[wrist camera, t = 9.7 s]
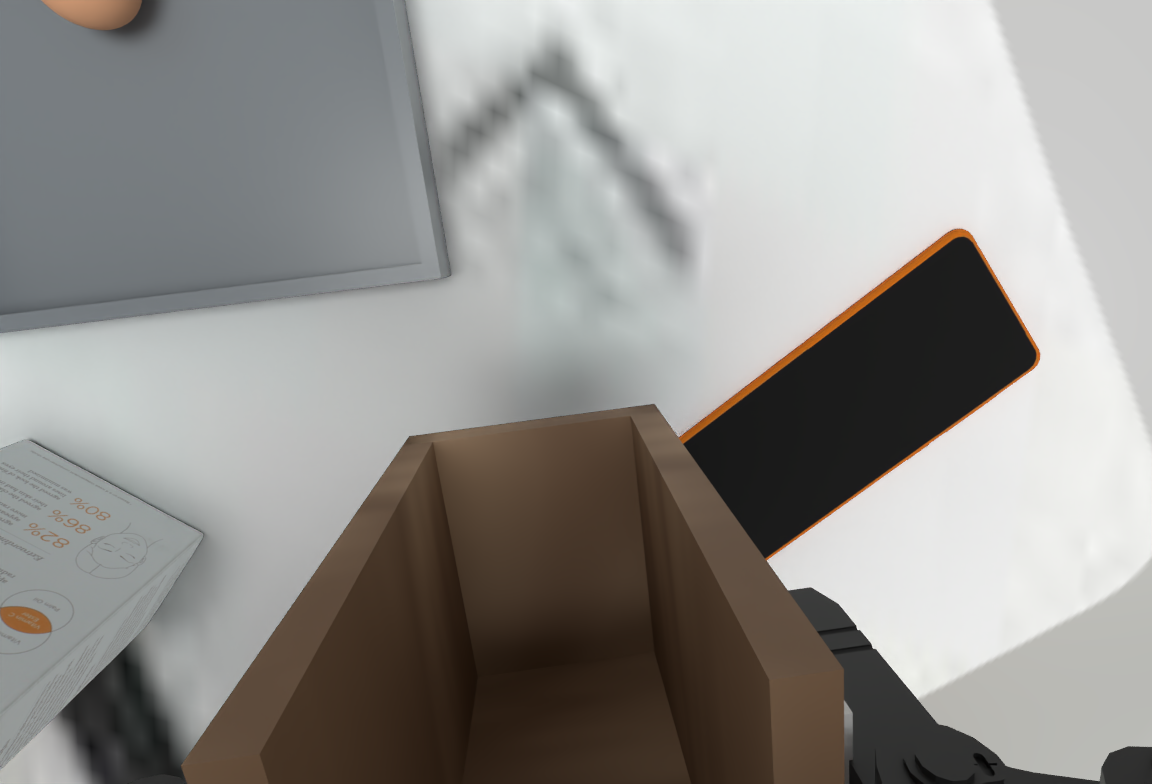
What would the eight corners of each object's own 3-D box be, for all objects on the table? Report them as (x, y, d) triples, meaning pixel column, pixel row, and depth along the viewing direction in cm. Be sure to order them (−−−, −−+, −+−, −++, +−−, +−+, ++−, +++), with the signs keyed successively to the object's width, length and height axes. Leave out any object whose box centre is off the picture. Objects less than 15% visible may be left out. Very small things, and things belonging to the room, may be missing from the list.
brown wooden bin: (459, 683, 14) (353, 1247, 6) (408, 436, 12) (181, 765, 4) (676, 652, 14) (847, 1164, 6) (654, 404, 12) (843, 669, 5)
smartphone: (640, 461, 26) (644, 468, 26) (953, 222, 25) (967, 221, 24) (735, 576, 28) (741, 585, 27) (1034, 359, 26) (1050, 363, 25)
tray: (-8, 331, 23) (-73, 342, 20) (-163, -85, 19) (-263, -132, 17) (451, 275, 23) (441, 278, 21) (381, -140, 20) (359, -193, 18)
